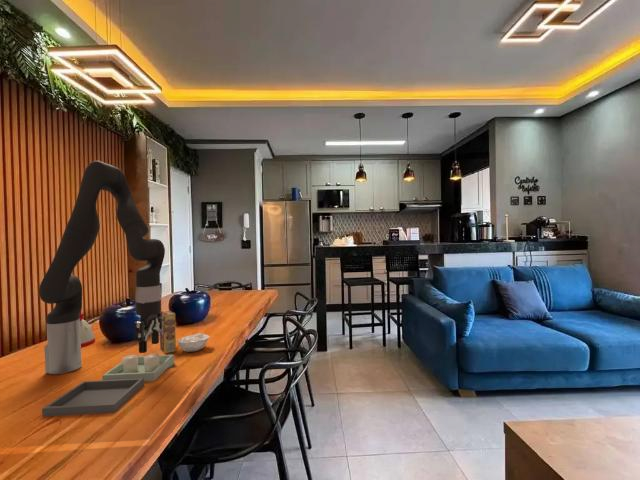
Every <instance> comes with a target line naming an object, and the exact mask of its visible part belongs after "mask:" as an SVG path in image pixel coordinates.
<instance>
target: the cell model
mask: <svg viewBox="0 0 640 480" xmlns="http://www.w3.org/2000/svg"><path fill="white" fill-rule="evenodd" d="M209 339H210V336H209V335H208V334H204V333H201V332H198V333H195V334H190V335H187V336H183V337H180V338H178V340H177V344H178V346H179V348H180V349H181V350H183V351H184V352H186V353H188V352H189V353H191V352H198V351H200V350H202V349H203V348H205V346H206V345H207V343H208V341H209Z"/></svg>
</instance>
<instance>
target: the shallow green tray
mask: <svg viewBox="0 0 640 480" xmlns="http://www.w3.org/2000/svg"><path fill="white" fill-rule="evenodd" d="M145 356H146V355H141V356H140V355H138V372H137V373H123V365H122V361H121V362H119V363H118V364H117V365H115V366H114V367H113V368H111V369H109V370H108V371H107V372H105V373H103V374H102V377H101V378H102V379H101V380H117V379H136V378H144V383H145V382H154V381H156V380H157V379H158V378H159V377H160V376H162V374H163V373H164V372H165V371H167V369H171V368H172V367H174V365H175V354H162V355H161V354H159V363H160V366H159V367H158V368H156V369H155V370H154V371H153V372H145V369H144V357H145Z"/></svg>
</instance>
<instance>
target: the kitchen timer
mask: <svg viewBox="0 0 640 480" xmlns="http://www.w3.org/2000/svg"><path fill="white" fill-rule="evenodd" d="M84 315H85V313H82V311H81V312H80V339H81V348H84V347H88V346H91V345H93V344H94V343H95V342H96V336H95V333H94V331H93V327H94V326H93V325H91V324H89V322H87V320H85V319H83V318H84Z"/></svg>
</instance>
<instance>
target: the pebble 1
mask: <svg viewBox="0 0 640 480" xmlns="http://www.w3.org/2000/svg"><path fill="white" fill-rule="evenodd" d="M138 356H139V355H138V354H130V355H126V356H124V357H122V358H121V359H122V360H121V362H122V365H123V373H137V372H138Z"/></svg>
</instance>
